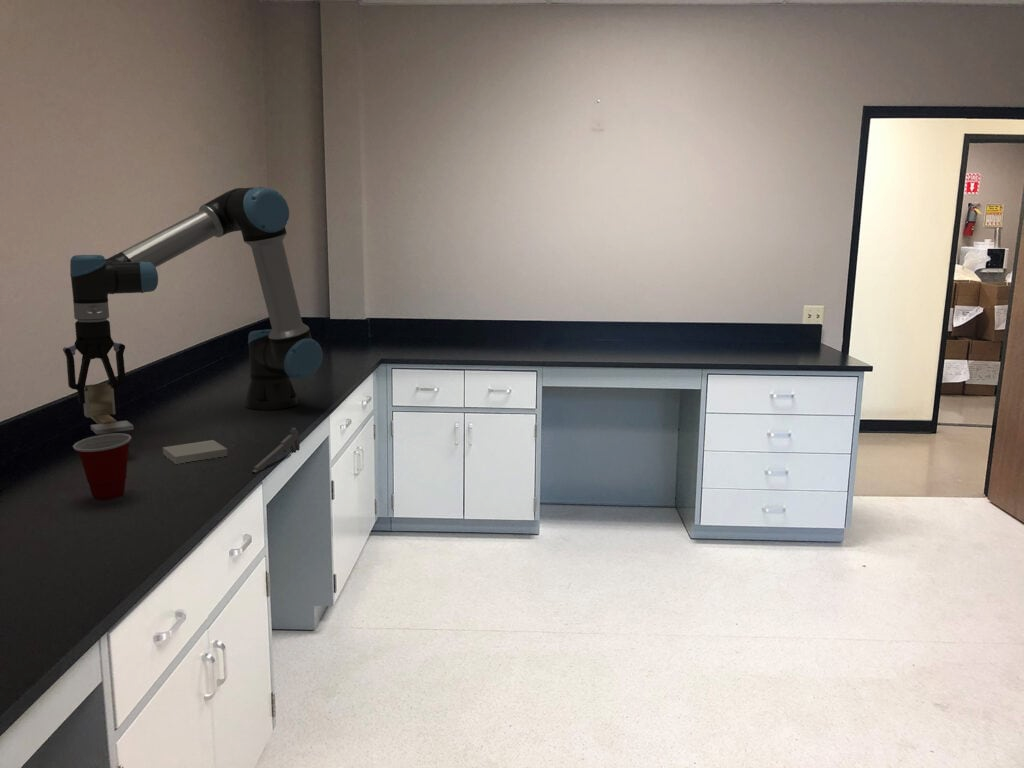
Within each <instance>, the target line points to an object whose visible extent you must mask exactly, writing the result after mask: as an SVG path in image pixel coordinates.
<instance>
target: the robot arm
mask: <svg viewBox="0 0 1024 768" xmlns="http://www.w3.org/2000/svg"><path fill="white" fill-rule="evenodd" d="M289 209H290V208H289V205H288V203H287V200H286V199H285V198H284V196H283V195H282V194H281V193H279V191H278V190H277V191H276V190H275V189H272V188H268V187H264V186H257V187H256V186H254V187H253V186H252V187H238V188H233V189H231V190H228V191H226V192H224V193H223V194H220V195H218V196H217V197H215V198H214V199H212V200H209V201H207V202H206V203H204V204H201V206H200V207H199V208H198V212H195V213H193V214H191V215H190V216H187V217H185V218H184V219H182V220H180V221H178V222H176V223H174V224H172V225H170V226H168V227H166V228H164V229H162V230H161V231H158V232H156V233H155V234H152V235H151V236H149V237H147V238H145V239H143V240H141V241H139V242H138V243H135V244H133V245H132V246H130V247H127V248H125V249H124V250H121V251H120V252H118V253H116V254H114V255H111V256H110V257H108V258H105V256H104V255H102V254H77V255H76V254H75V255H73V256H72V257H71V258H70V261H69V262H70V263H69V265H70V266H69V267H70V268H69V269H70V272H69V275H70V281H71V291H72V298H73V299H72V301H73V304H72V305H73V314H74V315H73V318H74V320H77V321H75V323H74V327H75V341H74V345H70V346H68V347H66V346H65V347H63V348H62V351H63V353H64V355H65V357H66V359H65V360H66V370H67V382H68V383H67V385H68V388H70V389H71V390H76V392H77V399H78V403H79V404H80V405H83V413H84V417H86V418H90V409H89V398H88V391H87V390H86V389H85V385H86V383H87V378H88V374H89V373H88V372H89V367H90V364H91V361H92V360H94V359H100V360H101V362H102V364H103V368H104V371H105V373H106V375H107V378H108V381H109V385H110V386H111V396H112V409H113V414H111V415H116V404H115V401H118V400H119V398H120V397H119V387H120V386H121V385H125V384H126V382H127V380H126V370H125V360H124V359H125V358H124V352H125V349H126V345H125V344H123V343H121V342H120V343H119V342H118V343H117V342H115V341H114V340H113V339H112V334H111V333H112V331H111V323H110V321H109V320H108V319H109V318H110V311H109V310H110V309H109V298H108V297H109V295H115V294H116V295H117V294H140V293H141V294H143V293H144V294H145V293H149V292H150V293H152V292H155V290H156V289H157V287H158V285H159V273H158V270H157V268H158V267H160V266H161V265H163V264H164V263H166V262H168V261H171V260H173V259H174V258H176V257H178V256H180V255H182V254H184V253H186V252H187V251H189V250H191V249H193V248H195V247H196V246H198V245H200V244H203V242H206V241H208V240H211V239H212V238H213V237H216V238H222V236H226V235H228V234H231V233H234V232H241V236H242V239H243V242H244V243H245V244H246V245H248V246H250V248H251V250H252V256H253V260H254V263H255V267H256V271H257V275H258V280H259V283H260V286H261V291H262V295H263V298H264V303H265V307H266V310H267V314H268V318H269V323H270V326H271V328H270V329H259V330H252V331H250V332H249V333H248V336H247V337H248V340H247V346H248V359H249V361H248V362H249V374H250V381H249V385H248V389H247V391H246V392H247V393H246V396H245V398H244V399H245V400H244V401H245V407H246V408H248V409H252V410H261V411H263V410H265V411H269V410H271V411H272V410H273V411H274V410H281V409H288V408H291V407H295V406H297V405H298V395H297V393H296V390H295V387H294V384H293V382H292V379H306V378H309V377H312V376H313V375H314V374H316V372H317V371H318V370H319V368H320V366H321V365H322V362H323V357H324V356H323V355H324V354H323V349H322V346H321V344H319V342H318V341H316V340H315V339H313V338H312V335H311V331H310V327H309V326H308V325H307V324H305V322H304V323H303V319H302V316H301V311H300V307H299V302H298V299H297V295H296V290H295V287H294V282H293V279H292V275H291V274H292V273H291V270H290V267H289V262H288V258H287V254H286V249H285V246H284V242H283V241H284V239H285V237H286V235H287V229H286V226H287V225H288V221H289V219H290V210H289ZM112 348H113V351H114V352H115V359H116V361H115V363H116V372H117V378H116V375H115V372H114V369H113V367H112V364H111V362H110V358H109V355H108V354H109V353H110V351H111V350H112ZM76 350H77V351H78V352H79V353H80V355H81V356H82V357H81V363H80V369H79V374H78V380H77V381H76V368H75V367H76V366H75V358H74V357H75V355H76ZM291 378H292V379H291Z"/></svg>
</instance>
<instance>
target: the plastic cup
mask: <svg viewBox="0 0 1024 768" xmlns="http://www.w3.org/2000/svg"><path fill="white" fill-rule="evenodd" d="M131 440H132V436H131V435H130V434H127V433H119V432H112V433H104V434H97V435H94V436H89V437H86V438H83V439H81V440H78V441H77V442H74V444H73V445H72V448H73V449H74V451H76V452H77V455H78V456H79V459H80V461H81V463H82V467H83V471H84V474H85V476H86V480H87V483H88V485H89V486H88V487H89V490H90V492H91V496H92V498H93V499H94V500H96V501H109V500H108V499H110V500H114V499H113V498H115V499H118V498H117V497H119V498H120V496H121V497H123V496H124V493H125V487H126V479H127V471H128V470H127V469H128V458H129V450H130V449H129V448H130V443H131Z"/></svg>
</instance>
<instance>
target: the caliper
mask: <svg viewBox="0 0 1024 768" xmlns="http://www.w3.org/2000/svg"><path fill="white" fill-rule="evenodd" d="M289 450H290V452H291V453H297V451H300V450H301V449H300V435H299V431H298V430H297V428H296V427H292V428H291V429H289V434H288V435H287V436H286V437H284V438H283V440H281V441H280V443H279V445H278V446H277V447H275V449H273V450H272V451H271V452H270V453H269V454H267V455H266V456H265V457H264V458H262V459H261V461H260V462H258V463H257V464H255V466H254V467H253V470H252V471H253V472H257V471H260V470H262V471H263V470H265V468H267V466H269V465H270V464H271V463H272V462H273V461H274V460H275V459H277V457H279V456H280V455H281V454H282V453H287V452H288V451H289ZM260 472H261V471H260ZM257 473H258V472H257Z"/></svg>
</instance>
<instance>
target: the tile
mask: <svg viewBox="0 0 1024 768" xmlns="http://www.w3.org/2000/svg"><path fill="white" fill-rule="evenodd" d="M163 454H164V455H165V456H166V457H167V458H166V457H165V456H164V455H163ZM162 455H163V456H164V457H165V458H166V459H168V458H169V459H170V460H171V461H173V462H174V463H175V464H178V465H180V464H179V463H184V464H186V463H185V462H191V461H197V460H203V461H205V460H204V459H209V460H212V459H211V458H215V459H219V458H218V457H221V458H225V457H224V456H227V457H228V448H227V447H225V446H223V445H222V444H220V443H219V442H217V441H215V440H214V439H211V440H203V441H197V442H192V443H191V442H190V443H183V444H175V445H169V446H163V447H162ZM169 459H168V460H169ZM170 460H169V461H170ZM171 461H170V462H171ZM173 462H172V463H173ZM197 462H198V461H197ZM174 463H173V464H174ZM191 463H192V462H191ZM175 464H174V465H175Z"/></svg>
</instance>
